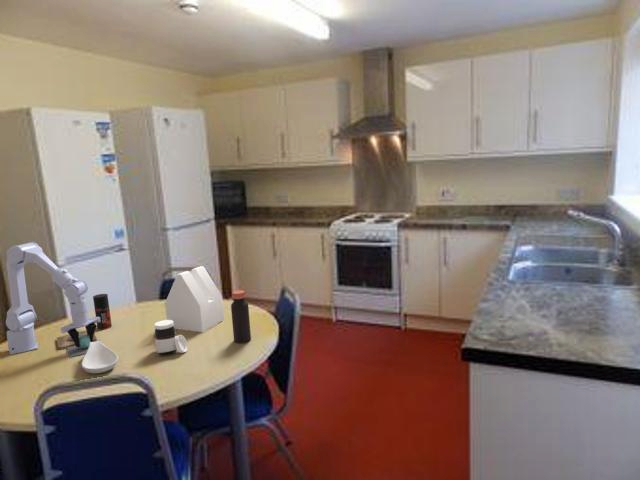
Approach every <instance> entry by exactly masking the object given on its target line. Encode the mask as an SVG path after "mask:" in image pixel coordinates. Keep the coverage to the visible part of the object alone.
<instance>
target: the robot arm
mask: <svg viewBox="0 0 640 480" xmlns="http://www.w3.org/2000/svg"><path fill="white" fill-rule="evenodd" d="M5 261H6V263H5V266H6V271H7V272H6V273H7V281H8V286H9V293H10V300H11V301H10V302H11V307H9V309H8V310H7V312H6V318H5V319H6V320H5V325H6V327H7V328H8V329H9V330H7V331H6V340H7V348H8V352H9V355H10V356H11V355H15V354H20V353H25V352H28V351H33V350H38V349H39V342H38V341H37V340H36V338H37V337H36V335H35V333H36V332H35V327H34V326H35V322H36V321H37V314H36V312H35V309H34V305H32V304H30V303H29V300H28V292H27V291H28V290H27V284H26V277H25V270H24V266H25V265H27V264H28V263H32V264H33V263H35V264H37V265H38V267H41V269H43V270H45V271H46V272H48V274H50V275H51V280H52V281H53V282H54V283H56V284H57V285H58V286H59V287H60V288H62V289H63V290H64V291H63V292H64V295H65V297H66V298H67V301H68V302H69V307H70V314H71V320H72V321H71V323H70V324H66V325H65V326H62V327H60V332H61V333H62V334H65V333H67V335H70V336H71V338H72V339H73V341H74V343H75V346H76V347H80V343H79V331H78V330H77V329H81V328H83V327H84V328H85V331H87V335H89V336H90V342H93V335H94V334H95V331H96V329H97V322H101V320H100V317H96V316H95V317H89V311H88V305H87V300H86V299H87V297H86V293H87V292H88V285H87V283H86V282H85V281H84V280H83V279H78V278H76V277H74V275H72V274H71V273H70V272H69V270H67V269H65V268H59V267H58V266H57V265H56V264H55V263H54V262H53V261H52V259H50V258H49V257H48V256H47V254H45V253H44V251H43V247H41V246H39V245H38V243H36V242H34V241H29V242H28V243H27V242H26V243H23V244H18V245H11V247H10V248H9V249H7V250H6V260H5Z"/></svg>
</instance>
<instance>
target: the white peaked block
mask: <svg viewBox="0 0 640 480" xmlns="http://www.w3.org/2000/svg"><path fill="white" fill-rule="evenodd" d="M164 304H165V305H164V306H165V314H166V315H165V316H166V320H172V321H173V324H174V325H173V326H174V328H175V330H181V329H182V331H189V330H190V331H191V332H197V331H198V332H197V333H204V332H206V331H208V330H210V329H212V328H213V327H215V326H217V325H219V324H220V323H222V322H224V321H225V316H224V315H225V314H224V303H223V296H222V294H221V292H220V290H219V289H218V287H217V286H216V284H215V283H214V281H213V279H212V278H211V276H210V274H209V273H208V271H207V269H206V268H205V266H202V265H201V266H197V267H194V268H192V269H191V271H190V270H189V271H188V270H186V271H183V272H180V273H177V274H176V276H175V279H174V281H173V283H172V285H171V289H170V290H169V293H168V296H167V297H166V300H165V302H164ZM223 320H224V321H223ZM221 321H222V322H221ZM219 322H220V323H219ZM218 323H219V324H218ZM216 324H217V325H216ZM214 325H215V326H214ZM212 326H213V327H212ZM209 328H210V329H209ZM207 329H208V330H207ZM205 330H206V331H205ZM190 331H189V332H190Z"/></svg>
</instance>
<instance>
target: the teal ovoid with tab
mask: <svg viewBox="0 0 640 480" xmlns="http://www.w3.org/2000/svg"><path fill="white" fill-rule="evenodd" d="M79 343H80V347H78V348H86V347H88V346H89V343H90V336H89V335H81V336H79Z"/></svg>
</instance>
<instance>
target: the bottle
mask: <svg viewBox="0 0 640 480" xmlns="http://www.w3.org/2000/svg"><path fill="white" fill-rule="evenodd" d="M231 295H232V300H233V302H232V303H231V304H230V311H231V320H232V321H231V322H232V333H233V335H232V336H233V341H234V342H235V343H236V344H244V343H248V342H250V341H251V339H252V335H251V322H250V312H249V303H248V301H246V300H245V299H246V291H245V290H240V289H239V290H234V291H232V294H231Z"/></svg>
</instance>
